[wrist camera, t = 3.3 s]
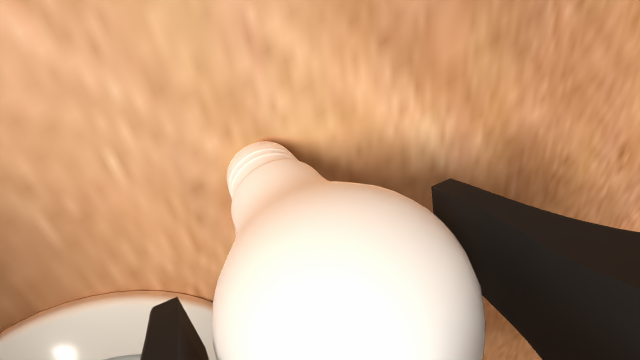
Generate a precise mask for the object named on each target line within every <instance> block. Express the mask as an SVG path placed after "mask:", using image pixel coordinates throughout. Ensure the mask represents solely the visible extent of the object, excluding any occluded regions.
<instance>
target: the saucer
mask: <svg viewBox="0 0 640 360" xmlns="http://www.w3.org/2000/svg"><path fill="white" fill-rule="evenodd" d="M175 297H178V299H179V301H180V302H181V304H182V306H183V308H184V310H185V311H186V313H187V315H188V317H189V319H190V320H191V322H192V324H193V326H194V328H195V329H196V331H197V333H198V335H199V337H200V338H201V340H202V342H203V344H204V346H205V348H206V351H207V354H208V358H209V360H217V359H216V355H215V351H214V348H213V335H212V315H213V302H210V301H207V300H205V299H202V298H198V297H194V296H190V295H186V294H182V293H174V292H166V291H141V290H139V291H125V292H113V293H108V294H102V295H96V296H90V297H86V298H82V299H78V300H74V301H71V302H67V303H63V304H61V305H58V306H55V307H52V308H50V309H47V310H44V311H41V312H39V313H37V314H35V315H32V316H30V317H28V318H26V319H24V320H22V321H20V322H18V323H16V324H14V325H12V326H11V327H9V328H7V329H6V330H4V331H2V332H1V333H0V360H140V358H141V354H142V350H143V346H144V341H145V337H146V332H147V327H148V321H149V315H150V311H151V309H152V308H153V307H154V306H156V305H159V304H161V303H163V302H166V301H168V300H170V299H173V298H175Z"/></svg>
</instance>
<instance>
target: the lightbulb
mask: <svg viewBox="0 0 640 360" xmlns="http://www.w3.org/2000/svg"><path fill="white" fill-rule="evenodd" d="M227 184H228V187H229V192H230V195H231V198H232V206H231V215H232V219H233V223H234V226H235V230H236V239H235V241H234V243H233V245H232V248H231V250H230V252H229V254H228V256H227V258H226V261H225V264H224V266H223V269H222V271H221V274H220V277H219V279H218V282H217V286H216V291H215V295H214V300H213V315H212V335H213V348H214V351H215V355H216V359H217V360H482V359H483V352H484V343H485V325H486V323H485V315H484V307H483V300H482V293H481V287H480V284H479V282H478V279H477V277H476V275H475V272H474V270H473V268H472V265H471V263H470V261H469V259H468V256H467V254H466V252H465V251H464V249H463V248H462V246H461V245H460V243H459V242H458V240H457V239H456V237H455V236H454V234H453V233H452V232H451V231H450V230H449V229H448V228H447V227H446V225H445V224H444V223H443V222H442V221H441V220H440V219H438V218H437V217H436V216H435V215H434V214H433V213H432V212H431V211H430V210H428V209H427V208H425V207H423V206H422V205H420V204H419V203H417V202H415V201H414V200H412V199H410V198H408V197H406V196H404V195H402V194H399V193H397V192H395V191H393V190H390V189H386V188H383V187H380V186H376V185H369V184H361V183H353V182H339V181H328V180H326V179H325V178H323V177H322V176H321V175H320V174H319V173H318V172H317V171H316V170H315V169H313V168H312V167H311V166H309V165H307V164H306V163H303V162H300V161H298V160H297V158H295V157H294V156H293V154H292V153H291V152H290V151H288V150H287V149H286V148H285V147H283V146H281V145H280V144H277V143H274V142H269V141H262V142H256V143H252V144H250V145H248V146H246V147H244V148H243V149H241V150H240V151H239V152H238V153H237V154H236V155H235V156H234V157H233V159H232V160H231V162H230V164H229V167H228V170H227Z"/></svg>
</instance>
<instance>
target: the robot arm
mask: <svg viewBox="0 0 640 360" xmlns="http://www.w3.org/2000/svg"><path fill="white" fill-rule="evenodd" d="M432 200H433V212H434V215H435V216H436V217H437V218H438V219H440V220H441V221H442V222H443V223H444V224H445V225H446V227H447V228H448V229H449V230H450V231H451V232H452V233H453V234H454V236H455V237H456V239H457V240H458V242H459V243H460V245H461V246H462V248H463V249H464V251H465V252H466V254H467V256H468V259H469V261H470V263H471V265H472V268H473V270H474V272H475V275H476V277H477V279H478V282H479V284H480V287H481V293H482V295H483V296H484V297H485V298H486V299H487V300H488V301H489V302H490V303H491V304H492V305H493V306H494V307H495V308H496V309H497V310H498V311H499V312H500V313H501V314H502V315H503V316H504V317H505V318H506V319H507V320H508V321H509V322H510V323H511V324H512V325H513V326H514V327H515V328H516V329H517V330H518V331H519V332H520V334H521V335H522V336H523V337H524V338H525V339H526V340H527V341H528V343H529V344H530V345H531V346H532V347H533V349H534V350H535V351H536V352H537V353H538V355H539V356H540V357H541V358H542V360H640V232H634V231H628V230H622V229H617V228H612V227H607V226H603V225H598V224H594V223H589V222H585V221H581V220H577V219H573V218H569V217H565V216H562V215H558V214H555V213H551V212H548V211H544V210H541V209H538V208H535V207H532V206H528V205H525V204H522V203H519V202H516V201H513V200H511V199H508V198H505V197H502V196H499V195H496V194H493V193H491V192H488V191H485V190H482V189H480V188H477V187H474V186H471V185H468V184H465V183H463V182H460V181H456V180H453V179H448V180H446V181H444V182H441V183H439V184H437V185H434V186H432ZM140 360H209V358H208V354H207V351H206V348H205V346H204V344H203V342H202V340H201V338H200V337H199V335H198V333H197V331H196V329H195V328H194V326H193V324H192V322H191V320H190V319H189V317H188V315H187V313H186V311H185V310H184V308H183V306H182V304H181V302H180V301H179V299H178V297H175V298H173V299H170V300H168V301H166V302H163V303H161V304H159V305H156V306H154V307H153V308H152V309H151V311H150V315H149V321H148V327H147V332H146V337H145V341H144V346H143V350H142V354H141V358H140Z"/></svg>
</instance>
